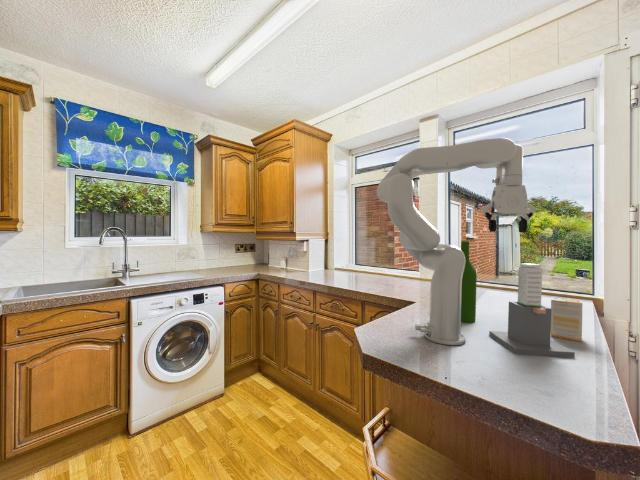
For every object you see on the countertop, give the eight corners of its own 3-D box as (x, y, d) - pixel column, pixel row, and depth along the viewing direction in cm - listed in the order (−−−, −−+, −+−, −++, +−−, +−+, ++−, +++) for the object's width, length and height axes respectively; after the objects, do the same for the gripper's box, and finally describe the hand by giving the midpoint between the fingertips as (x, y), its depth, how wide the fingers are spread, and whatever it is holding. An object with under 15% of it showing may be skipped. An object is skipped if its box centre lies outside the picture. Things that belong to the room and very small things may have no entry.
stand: (515, 354, 84) (516, 310, 84) (489, 335, 100) (490, 298, 100) (574, 357, 82) (576, 312, 82) (538, 337, 98) (539, 300, 98)
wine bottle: (479, 321, 117) (482, 241, 116) (467, 324, 112) (469, 241, 111) (459, 315, 124) (461, 241, 124) (446, 318, 120) (448, 241, 119)
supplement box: (581, 338, 98) (582, 300, 98) (581, 342, 95) (583, 303, 94) (550, 332, 104) (551, 296, 103) (549, 336, 100) (551, 299, 100)
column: (524, 326, 89) (526, 264, 88) (515, 321, 94) (516, 263, 94) (542, 327, 88) (544, 265, 88) (532, 322, 93) (533, 263, 93)
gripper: (487, 180, 96) (486, 231, 96) (543, 180, 94) (541, 232, 94) (477, 184, 103) (476, 231, 103) (529, 184, 101) (527, 232, 102)
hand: (507, 231), depth 99 cm, fingers open, 9 cm apart
